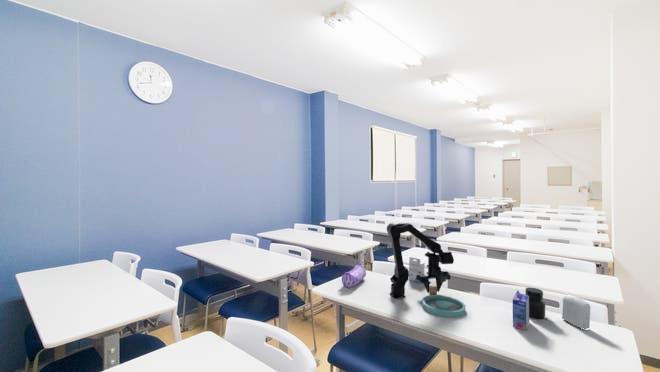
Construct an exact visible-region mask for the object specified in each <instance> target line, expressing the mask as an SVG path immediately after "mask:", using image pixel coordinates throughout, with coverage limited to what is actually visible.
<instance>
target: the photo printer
mask: <svg viewBox="0 0 660 372" xmlns="http://www.w3.org/2000/svg"><path fill="white" fill-rule="evenodd" d="M561 313H562V314H561V315H562V316H561V318H562V320H563V319H564V320H566V321H568V322H570V323H572V324H574V325H576V326H578V327H580V328H582V329H581V330H583V328H584V329H587V328H589V329H590V325H591V323H590V322H591V321H590V320H591V305H590V304H589V303H588V302H587V301H586V300H584V299H582V298H581V297H578V296H575V295H571V294H570V295H569V294H565V295H564V296H563V297H562V312H561ZM564 320H563V321H564ZM566 321H565V322H566ZM568 322H567V323H568ZM570 323H569V324H570ZM572 324H571V325H572ZM574 325H573V326H574ZM576 326H575V327H576ZM578 327H577V328H578ZM580 328H579V329H580Z"/></svg>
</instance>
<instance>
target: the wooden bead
mask: <svg viewBox="0 0 660 372" xmlns="http://www.w3.org/2000/svg"><path fill="white" fill-rule="evenodd" d="M428 294H429V296H430V295H438V291H437V286H436V284H435V285H434V284H431V285H430V284H429V293H428Z"/></svg>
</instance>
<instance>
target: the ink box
mask: <svg viewBox="0 0 660 372" xmlns="http://www.w3.org/2000/svg"><path fill="white" fill-rule="evenodd" d="M408 259H409V260H408V262H409V263H408V274H409V277H408V281H412V282H415V283H418V284H421V283H422V284H423V282H420V281H418V280H417V279H416V276H417V274H424V275H425V262H421V259H419V258H417V257H416V258H415V257H412V256H409V258H408Z"/></svg>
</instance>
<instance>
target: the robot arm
mask: <svg viewBox="0 0 660 372" xmlns="http://www.w3.org/2000/svg"><path fill="white" fill-rule="evenodd" d="M386 232H387V235H388V237H389V239H390V242H391V246H392V253H393V258H394V271H393V272H394V274H393V275H392V276H391V277H390V282H391V285H390V292H389V295H390V296H391V297H393V298H395V299H402V298H406V297H407V296H406V295H405V294H406V293H405V292H406V290H405V289H406V287H405V286H406V284H407V282H408V281H409V268H407V267H406V266H405V265H404V259H403V255H402V247H401V242H400V240H401V239H400V238H401V235H402V234H405V233H407V232H409V233H410V234H411V235H412V236H414V237H415V238H417V240H419V241H420V242H421V243H422V244H423V245H424V246H425V249H427V250H428V251H427V252H426V253H424V256H425V257H426V258H427V259H428V262H427V264H426V268H427V271H426V275H425V273H424V274H417V276H416V279H417V280H418V281H420V282H422V284H423V286H424V288H425V290H426V292H427V294H429V286H430V284H432V282H431V281H430V280H431V279H432V280H433V279H435V286H437V293H440V290H441V288H442V285H443V283H445V282H447V280H448V281H450V280H451V279H452V278H451V274H450V273H449V271H442V267H441V266H440V265H453V264H454V256H453V254H452V251H443V249H442V246H441V244H440V243H438V242H436V241H435V240H432V239H431V238H429V237H428V236H426V235H425V234H423V233H422V232H421V231H420V230H419V229H417V228H416V227H414V225H413V224H412V223H409V222H405V223H396V224H395V223H389V224H388V225H387V226H386ZM429 251H430V252H429Z"/></svg>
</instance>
